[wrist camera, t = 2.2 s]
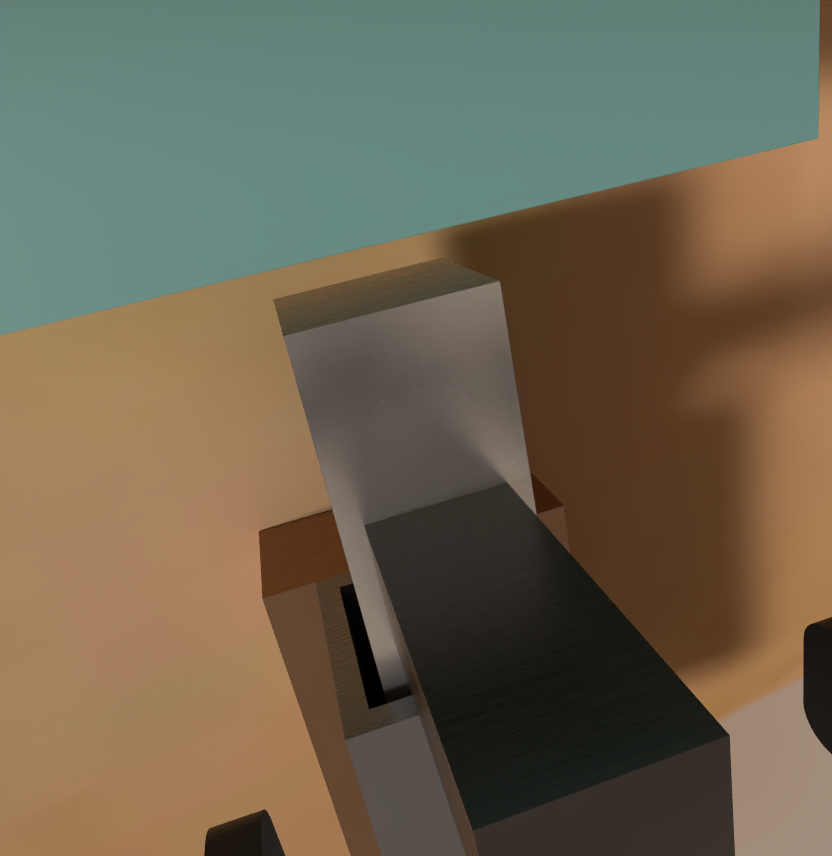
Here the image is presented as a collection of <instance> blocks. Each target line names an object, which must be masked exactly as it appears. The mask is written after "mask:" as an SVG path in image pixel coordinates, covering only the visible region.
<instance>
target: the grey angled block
mask: <svg viewBox="0 0 832 856" xmlns="http://www.w3.org/2000/svg"><path fill="white" fill-rule="evenodd" d="M273 300H274V303H275V307H276V311H277V314H278V318H279V322H280V325H281V329H282V332H283V336H284V340H285V343H286V347H287V350H288V354H289V357H290V361H291V364H292V368H293V371H294V375H295V379H296V382H297V386H298V389H299V393H300V396H301V400H302V403H303V407H304V410H305V414H306V418H307V421H308V425H309V428H310V432H311V435H312V439H313V442H314V446H315V449H316V453H317V457H318V460H319V464H320V467H321V471H322V474H323V478H324V481H325V485H326V488H327V492H328V495H329V499H330V503H331V506H332V510H333V513H334V517H335V520H336V524H337V527H338V531H339V534H340V538H341V542H342V545H343V549H344V552H345V556H346V559H347V563H348V566H349V570H350V573H351V577H352V581H353V584H354V588H355V591H356V595H357V598H358V602H359V605H360V609H361V612H362V616H363V619H364V623H365V627H366V630H367V634H368V637H369V641H370V644H371V648H372V651H373V655H374V658H375V662H376V666H377V669H378V673H379V676H380V680H381V683H382V687H383V690H384V694H385V697H386V701H387V704H388V703H390V702H393V701H396V700H399V699H402V698H405V697H408V696H411V695H412V696H413V699H414V702H415V705H416V708H417V711H418V714H419V717H420V720H421V723H422V726H423V729H424V732H425V735H426V738H427V741H428V744H429V747H430V750H431V753H432V756H433V759H434V762H435V765H436V768H437V771H438V774H439V777H440V780H441V783H442V786H443V789H444V792H445V795H446V798H447V801H448V804H449V807H450V810H451V813H452V816H453V819H454V822H455V825H456V828H457V831H458V834H459V837H460V840H461V843H462V846H463V849H464V852H465V855H466V856H735V847H734V825H733V804H732V803H733V802H732V780H731V758H730V737H729V736H730V735H729V734H728V733H727V732H726V731H725V730H724V728H723V727H722V726H721V725H720V724H719V723H718V722H717V720H716V719H715V718H714V717H713V716H712V715H711V714H710V712H709V711H708V710H707V709H706V708H705V707H704V706H703V705H702V703H701V702H700V701H699V700H698V699H697V698H696V697H695V695H694V694H693V693H692V692H691V691H690V690H689V689H688V687H687V686H686V685H685V684H684V683H683V682H682V681H681V679H680V678H679V677H678V676H677V675H676V674H675V673H674V672H673V670H672V669H671V668H670V667H669V666H668V665H667V664H666V662H665V661H664V660H663V659H662V658H661V657H660V656H659V654H658V653H657V652H656V651H655V650H654V649H653V648H652V646H651V645H650V644H649V643H648V642H647V641H646V640H645V639H644V637H643V636H642V635H641V634H640V633H639V632H638V631H637V629H636V628H635V627H634V626H633V625H632V624H631V623H630V621H629V620H628V619H627V618H626V617H625V616H624V615H623V613H622V612H621V611H620V610H619V609H618V608H617V607H616V605H615V604H614V603H613V602H612V601H611V600H610V599H609V598H608V596H607V595H606V594H605V593H604V592H603V591H602V590H601V588H600V587H599V586H598V585H597V584H596V583H595V582H594V580H593V579H592V578H591V577H590V576H589V575H588V574H587V572H586V571H585V570H584V569H583V568H582V567H581V566H580V565H579V563H578V562H577V561H576V560H575V559H574V558H573V557H572V555H571V554H570V553H569V552H568V551H567V550H566V549H565V547H564V546H563V545H562V544H561V543H560V542H559V541H558V539H557V538H556V537H555V536H554V535H553V534H552V533H551V532H550V530H549V529H548V528H547V527H546V526H545V525H544V524H543V522H542V521H541V520H540V519H539V518H538V517H537V514H536V507H535V501H534V495H533V488H532V482H531V476H530V469H529V463H528V457H527V450H526V444H525V438H524V431H523V425H522V419H521V412H520V406H519V399H518V393H517V387H516V380H515V374H514V368H513V361H512V355H511V349H510V342H509V336H508V330H507V323H506V317H505V311H504V304H503V298H502V292H501V285H500V281H499V280H496V279H494V278H491V277H489V276H486V275H484V274H481V273H479V272H476V271H473V270H471V269H468V268H466V267H463V266H461V265H458V264H456V263H453V262H451V261H448V260H446V259H443V258H439V259H435V260H431V261H427V262H423V263H419V264H415V265H411V266H407V267H403V268H399V269H395V270H391V271H387V272H383V273H378V274H374V275H370V276H366V277H362V278H358V279H354V280H350V281H346V282H342V283H338V284H334V285H330V286H326V287H322V288H318V289H314V290H310V291H306V292H301V293H297V294H293V295H289V296H285V297H281V298H277V299H273Z"/></svg>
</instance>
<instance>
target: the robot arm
mask: <svg viewBox="0 0 832 856" xmlns="http://www.w3.org/2000/svg"><path fill="white" fill-rule="evenodd" d="M803 697H804V698H803V701H804V709H805V713H806V717H807V719H808V721H809V724H810V726H811V728H812V729H813V731H814V733H815V735H816V736H817V738H818V739H819V740H820V742H821V743H822V744H823V746H824V747H825V748H826V749H827V750H828V751H829V752H830V753H831V754H832V617H831V618H828V619H825V620H822V621H819V622H816V623H813V624H810V625H809V626H807V628H806V629H805V632H804V695H803ZM204 856H285V854H284V851H283V849H282V846H281V844H280V841H279V838H278V836H277V833H276V831H275V828H274V826H273V823H272V820H271V818H270V816H269V814H268V812H267V811H266V810H265V809H264V810H262V811H259V812H256V813H253V814H250V815H247V816H244V817H241V818H238V819H235V820H232V821H229V822H227V823H224V824H221V825H218V826H215V827H212V828H209V830H208V832H207V835H206V841H205V855H204Z"/></svg>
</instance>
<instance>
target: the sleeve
mask: <svg viewBox="0 0 832 856" xmlns="http://www.w3.org/2000/svg"><path fill="white" fill-rule="evenodd" d="M530 476H531V482H532V488H533V495H534V501H535V507H536V514H537V517H538V518H539V519H540V520H541V521H542V522H543V524H544V525H545V526H546V527H547V528H548V529H549V530H550V532H551V533H552V534H553V535H554V536H555V537H556V538H557V539H558V541H559V542H560V543H561V544H562V545H563V546H564V547H565V549H566V550H567V551H568V552H569V553H570V546H569V539H568V531H567V524H566V517H565V510H564V505H563V504H562V503H561V502H560V501H559V500H558V499H557V498H556V497H555V496H554V495H553V494H552V493H551V492H550V491H549V490H548V489H547V488H546V487H545V486H544V485H543V484H542V483H541V482H540V481H539V480H538V479H537V478H536V477H535V476H534V475H533V474H532V473H531V472H530ZM259 542H260V561H261V579H262V598H263V601H264V604H265V607H266V610H267V613H268V616H269V619H270V622H271V625H272V628H273V630H274V633H275V636H276V639H277V642H278V645H279V648H280V651H281V654H282V657H283V660H284V662H285V665H286V668H287V671H288V674H289V677H290V680H291V683H292V686H293V689H294V692H295V694H296V697H297V700H298V703H299V706H300V709H301V712H302V715H303V718H304V721H305V724H306V726H307V729H308V732H309V735H310V738H311V741H312V744H313V747H314V750H315V753H316V756H317V758H318V761H319V764H320V767H321V770H322V773H323V776H324V779H325V782H326V785H327V787H328V790H329V793H330V796H331V799H332V802H333V805H334V808H335V811H336V814H337V817H338V819H339V822H340V825H341V828H342V831H343V834H344V837H345V840H346V843H347V846H348V849H349V851H350V854H351V856H466V855H465V852H464V849H463V846H462V843H461V840H460V837H459V834H458V831H457V828H456V825H455V822H454V819H453V816H452V813H451V810H450V807H449V804H448V801H447V798H446V795H445V792H444V789H443V786H442V783H441V780H440V777H439V774H438V771H437V768H436V765H435V762H434V759H433V756H432V753H431V750H430V747H429V744H428V741H427V738H426V735H425V732H424V729H423V726H422V723H421V720H420V717H419V714H418V711H417V708H416V705H415V702H414V699H413V696H412V695H411V696H408V697H405V698H402V699H399V700H396V701H393V702H390V703H388V704H387V701H386V697H385V694H384V690H383V687H382V683H381V680H380V676H379V673H378V669H377V666H376V662H375V658H374V655H373V651H372V648H371V644H370V641H369V637H368V634H367V630H366V627H365V623H364V619H363V616H362V612H361V609H360V605H359V602H358V598H357V595H356V591H355V588H354V584H353V581H352V577H351V573H350V570H349V566H348V563H347V559H346V556H345V552H344V549H343V545H342V542H341V538H340V534H339V531H338V527H337V524H336V520H335V517H334V513H333V510H331V511H327V512H324V513H321V514H317V515H314V516H310V517H307V518H304V519H300V520H297V521H293V522H290V523H287V524H283V525H280V526H276V527H273V528H270V529H266V530H263V531H259ZM570 554H571V553H570Z"/></svg>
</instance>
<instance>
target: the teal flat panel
mask: <svg viewBox="0 0 832 856" xmlns="http://www.w3.org/2000/svg"><path fill="white" fill-rule="evenodd" d="M819 36H820V0H0V335H3V334H7V333H11V332H15V331H19V330H24V329H28V328H32V327H36V326H40V325H44V324H49V323H53V322H57V321H61V320H65V319H69V318H74V317H78V316H82V315H86V314H90V313H94V312H98V311H103V310H107V309H111V308H115V307H119V306H123V305H128V304H132V303H136V302H140V301H144V300H148V299H153V298H157V297H161V296H165V295H169V294H173V293H177V292H182V291H186V290H190V289H194V288H198V287H202V286H207V285H211V284H215V283H219V282H223V281H227V280H232V279H236V278H240V277H244V276H248V275H252V274H256V273H261V272H265V271H269V270H273V269H277V268H281V267H286V266H290V265H294V264H298V263H302V262H306V261H311V260H315V259H319V258H323V257H327V256H331V255H335V254H340V253H344V252H348V251H352V250H356V249H360V248H365V247H369V246H373V245H377V244H381V243H385V242H390V241H394V240H398V239H402V238H406V237H410V236H414V235H419V234H423V233H427V232H431V231H435V230H439V229H444V228H448V227H452V226H456V225H460V224H464V223H469V222H473V221H477V220H481V219H485V218H489V217H493V216H498V215H502V214H506V213H510V212H514V211H518V210H523V209H527V208H531V207H535V206H539V205H543V204H548V203H552V202H556V201H560V200H564V199H568V198H573V197H577V196H581V195H585V194H589V193H593V192H597V191H602V190H606V189H610V188H614V187H618V186H622V185H627V184H631V183H635V182H639V181H643V180H647V179H652V178H656V177H660V176H664V175H668V174H672V173H676V172H681V171H685V170H689V169H693V168H697V167H701V166H706V165H710V164H714V163H718V162H722V161H726V160H731V159H735V158H739V157H743V156H747V155H751V154H755V153H760V152H764V151H768V150H772V149H776V148H780V147H785V146H789V145H793V144H797V143H801V142H805V141H810V140H814V139H818V114H819Z"/></svg>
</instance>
